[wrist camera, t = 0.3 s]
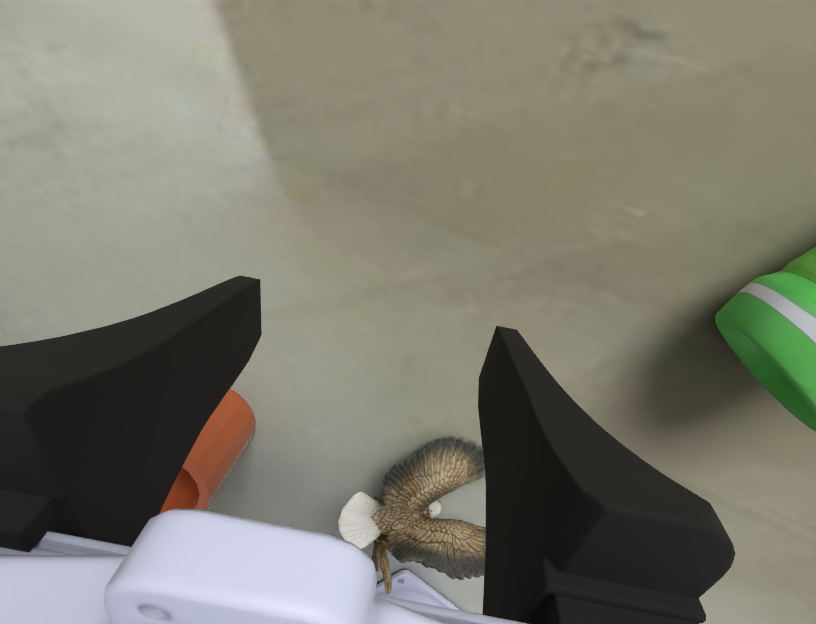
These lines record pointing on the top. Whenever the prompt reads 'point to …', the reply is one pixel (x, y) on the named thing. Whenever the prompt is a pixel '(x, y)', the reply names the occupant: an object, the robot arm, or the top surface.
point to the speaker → (778, 333)
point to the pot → (213, 455)
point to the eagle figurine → (421, 513)
